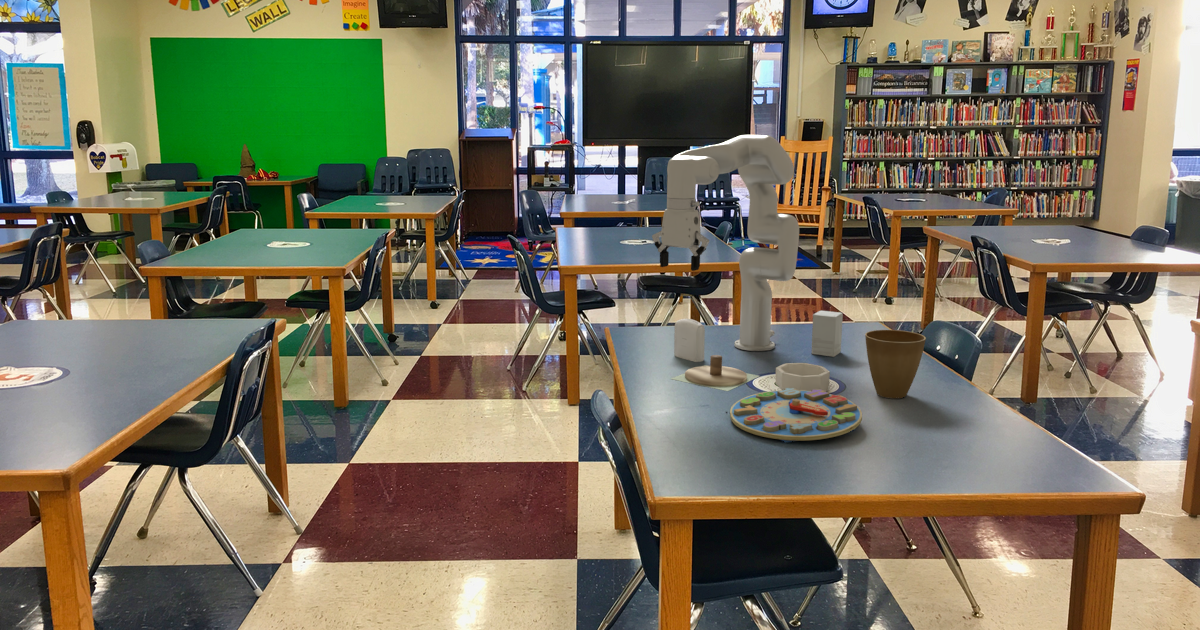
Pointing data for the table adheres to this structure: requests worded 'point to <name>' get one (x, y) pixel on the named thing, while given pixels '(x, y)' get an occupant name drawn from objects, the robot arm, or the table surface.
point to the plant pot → (893, 360)
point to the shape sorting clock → (796, 414)
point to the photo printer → (689, 340)
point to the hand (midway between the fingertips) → (679, 268)
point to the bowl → (802, 376)
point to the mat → (725, 388)
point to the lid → (715, 374)
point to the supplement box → (827, 333)
